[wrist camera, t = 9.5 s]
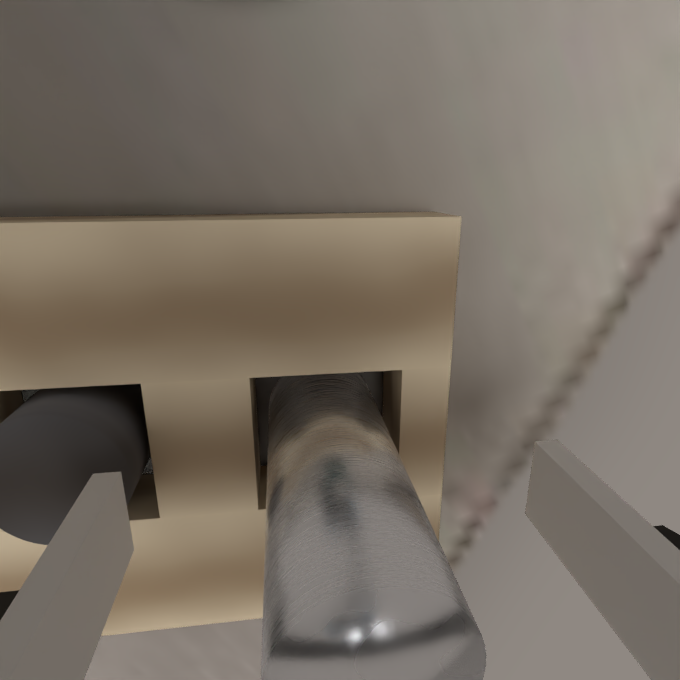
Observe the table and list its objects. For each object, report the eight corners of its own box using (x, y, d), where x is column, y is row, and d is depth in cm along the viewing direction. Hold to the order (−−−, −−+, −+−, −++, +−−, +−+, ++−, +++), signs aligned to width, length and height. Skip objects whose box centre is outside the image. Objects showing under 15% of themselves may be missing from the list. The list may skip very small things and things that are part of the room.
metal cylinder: (266, 361, 20) (253, 603, 8) (372, 356, 20) (496, 576, 9) (271, 455, 21) (266, 774, 10) (370, 448, 21) (476, 742, 10)
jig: (-76, 218, 16) (-195, 229, 12) (433, 211, 19) (478, 219, 14) (22, 587, 21) (-39, 684, 17) (415, 548, 24) (445, 626, 19)
